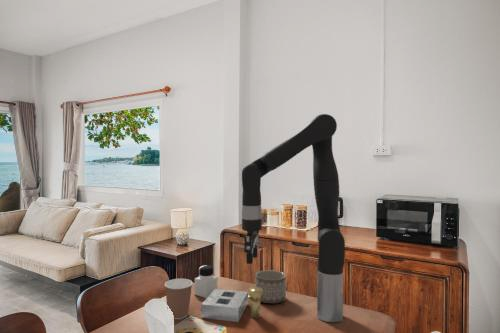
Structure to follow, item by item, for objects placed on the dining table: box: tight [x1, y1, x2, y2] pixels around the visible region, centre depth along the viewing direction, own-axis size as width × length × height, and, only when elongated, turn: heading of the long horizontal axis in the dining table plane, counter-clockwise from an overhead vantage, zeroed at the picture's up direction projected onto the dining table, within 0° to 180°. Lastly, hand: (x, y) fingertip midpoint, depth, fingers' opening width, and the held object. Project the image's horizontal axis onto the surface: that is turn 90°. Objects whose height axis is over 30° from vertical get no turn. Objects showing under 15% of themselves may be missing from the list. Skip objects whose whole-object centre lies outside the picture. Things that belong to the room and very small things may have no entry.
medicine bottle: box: [194, 264, 218, 299], centre depth 149 cm, size 7×7×12 cm
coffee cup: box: [164, 278, 194, 320], centre depth 129 cm, size 10×10×12 cm
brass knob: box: [247, 286, 263, 320], centre depth 129 cm, size 5×5×10 cm
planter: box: [254, 269, 287, 304], centre depth 145 cm, size 13×13×10 cm
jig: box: [200, 288, 249, 323], centre depth 133 cm, size 14×16×5 cm
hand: (252, 260), depth 130 cm, fingers open, 8 cm apart
